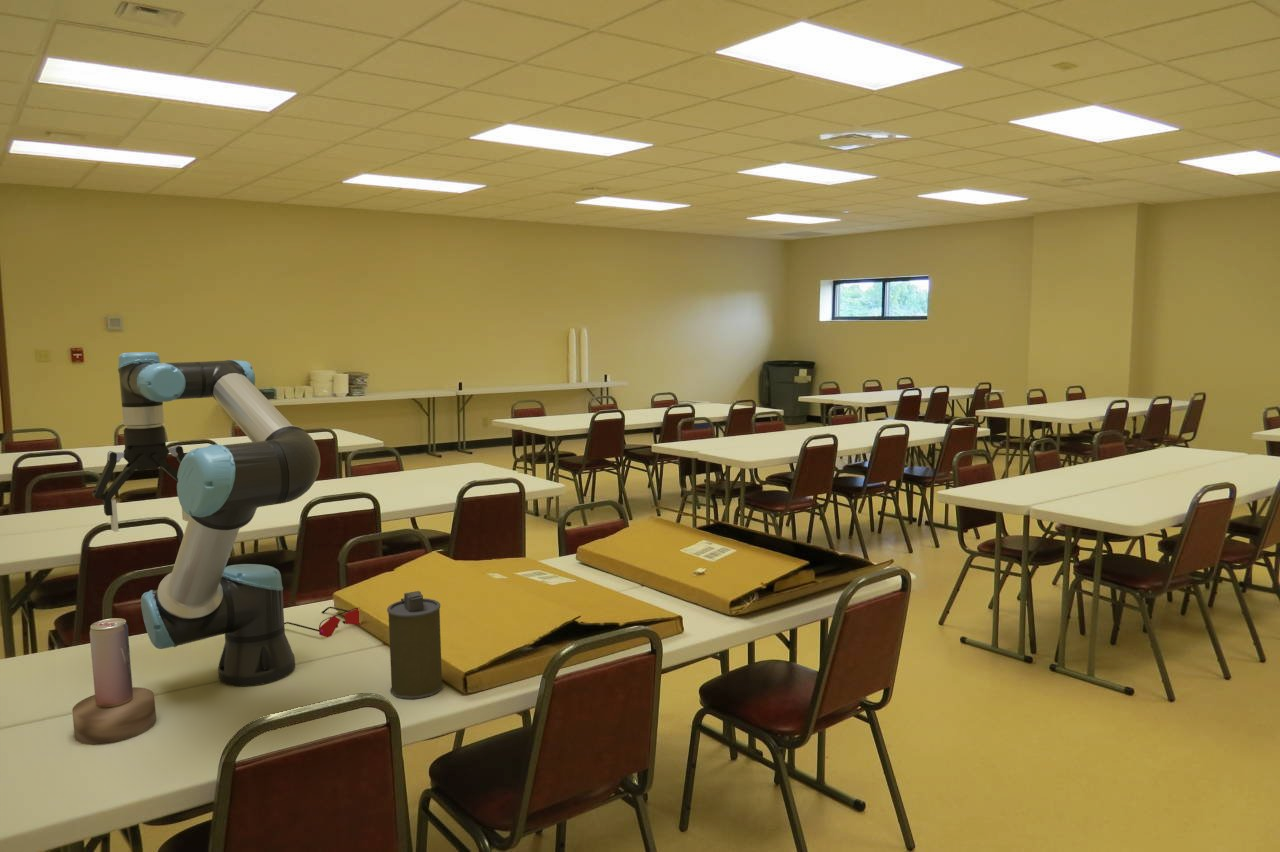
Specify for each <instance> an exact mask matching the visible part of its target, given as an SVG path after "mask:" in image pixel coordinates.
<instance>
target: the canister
mask: <svg viewBox="0 0 1280 852" xmlns="http://www.w3.org/2000/svg"><path fill="white" fill-rule="evenodd" d="M403 595H404V596H403V598H401V599H400V600H399V601H396V602H393V603H392V604H390V605H388V607H387V608H386V613H387V614H388V632H389V633H388V635H389V656H390V680H391V683H390V684H391V687H390V693H391V694H392V696H394V697H396V698H399V699H403V700H417V699H426V698H429V697H431V696H434V695H436V694H438V693H439V692H440V691H441V690H442V689H443V687H444V683H443V676H442V675H443V673H442V644H441V614H440V612H441V611H440V608H441V603H440V602H439V601H438V600H437V599H431V598H424V595H423V594H422V593H421V591H419V590H417V591H411V592H404V594H403Z"/></svg>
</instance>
